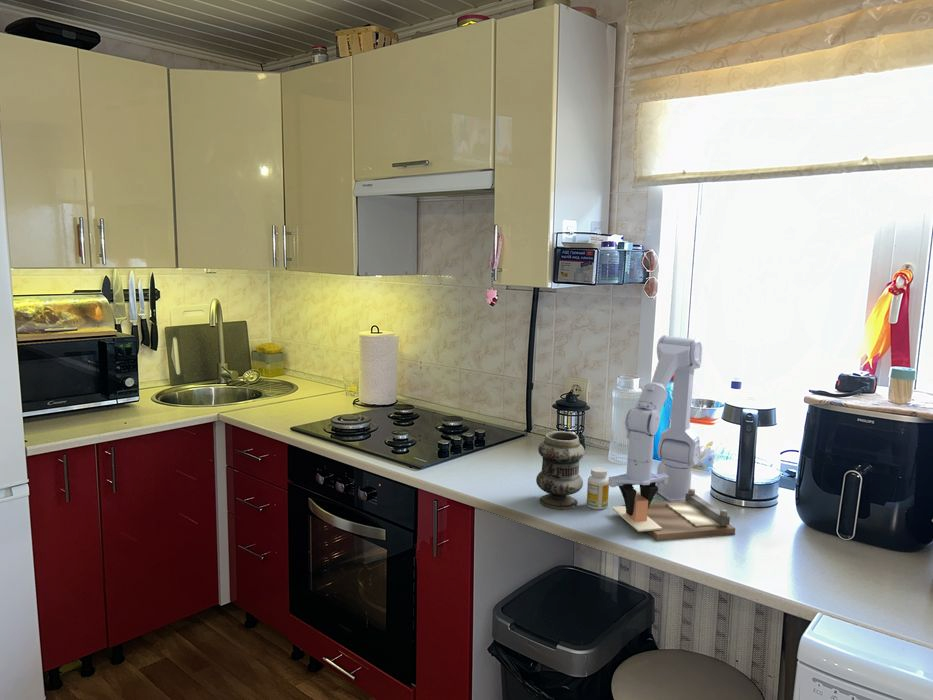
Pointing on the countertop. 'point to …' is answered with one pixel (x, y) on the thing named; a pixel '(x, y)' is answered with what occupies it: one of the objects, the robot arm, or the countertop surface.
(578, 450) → the apothecary jar
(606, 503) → the supplement bottle
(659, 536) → the ticket board
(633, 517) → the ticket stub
